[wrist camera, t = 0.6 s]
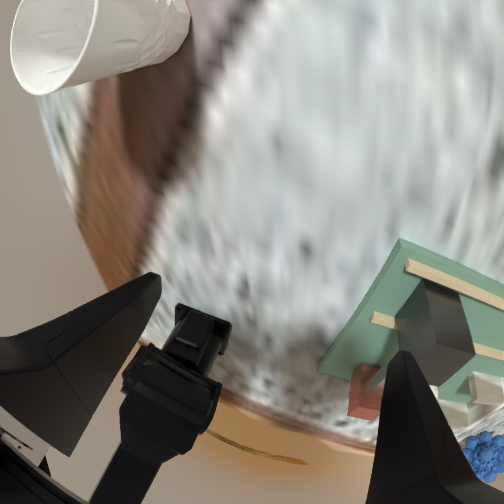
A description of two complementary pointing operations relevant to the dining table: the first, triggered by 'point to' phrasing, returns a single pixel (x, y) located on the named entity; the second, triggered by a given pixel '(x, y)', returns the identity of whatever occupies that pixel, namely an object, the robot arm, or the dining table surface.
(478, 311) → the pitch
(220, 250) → the dining table surface
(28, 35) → the white cup
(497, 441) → the grapes
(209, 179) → the dining table surface
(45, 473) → the robot arm
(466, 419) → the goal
